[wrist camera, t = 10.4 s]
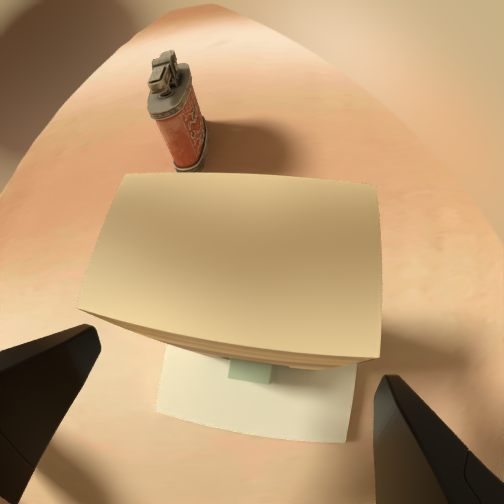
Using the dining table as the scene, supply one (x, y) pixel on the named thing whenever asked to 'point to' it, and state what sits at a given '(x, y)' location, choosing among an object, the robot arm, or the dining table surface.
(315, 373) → the white and green block
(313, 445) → the dining table surface
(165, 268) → the birch slotted block
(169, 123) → the lighter
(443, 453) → the robot arm
